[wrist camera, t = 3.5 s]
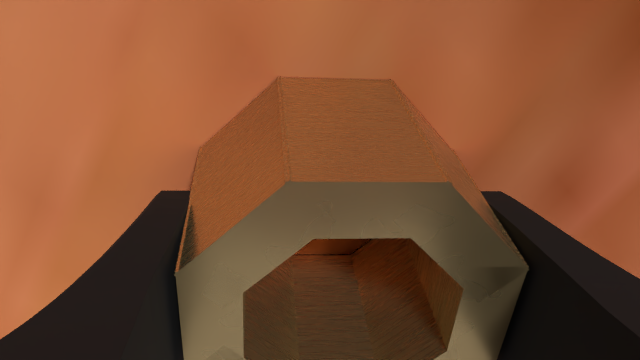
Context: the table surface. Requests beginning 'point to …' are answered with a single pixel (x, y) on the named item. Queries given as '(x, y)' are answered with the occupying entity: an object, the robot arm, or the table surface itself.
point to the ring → (340, 235)
